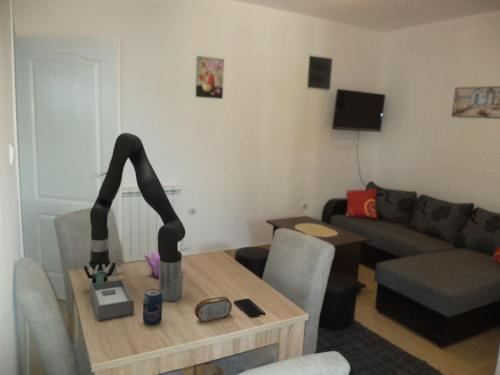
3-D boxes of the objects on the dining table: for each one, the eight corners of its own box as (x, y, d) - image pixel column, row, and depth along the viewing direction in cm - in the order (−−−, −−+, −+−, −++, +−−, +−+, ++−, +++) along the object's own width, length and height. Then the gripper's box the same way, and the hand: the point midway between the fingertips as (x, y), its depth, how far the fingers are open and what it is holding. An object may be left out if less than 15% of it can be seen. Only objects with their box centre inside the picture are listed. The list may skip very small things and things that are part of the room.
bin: (122, 292, 166) (122, 279, 165) (133, 314, 147) (133, 300, 147) (90, 297, 160) (90, 283, 159) (98, 321, 141) (98, 306, 140)
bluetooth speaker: (228, 313, 153) (230, 294, 152) (232, 317, 151) (233, 297, 149) (194, 320, 146) (194, 300, 145) (197, 324, 143) (197, 303, 142)
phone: (248, 298, 167) (266, 313, 154) (248, 300, 167) (266, 316, 154) (232, 301, 163) (249, 317, 150) (232, 303, 163) (249, 319, 150)
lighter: (108, 276, 182) (108, 260, 181) (107, 275, 184) (107, 259, 182) (123, 274, 186) (123, 258, 185) (122, 273, 187) (122, 257, 186)
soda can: (144, 327, 139) (144, 297, 137) (141, 318, 145) (142, 289, 143) (163, 325, 141) (164, 294, 140) (159, 316, 148) (160, 287, 146)
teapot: (178, 268, 197) (179, 245, 195) (184, 276, 188) (185, 252, 186) (139, 273, 188) (139, 249, 186) (143, 281, 179) (144, 256, 177)
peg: (105, 289, 168) (106, 272, 167) (100, 292, 165) (100, 274, 164) (99, 287, 170) (99, 270, 168) (93, 290, 166) (93, 273, 165)
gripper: (115, 244, 171) (114, 280, 174) (81, 247, 164) (81, 284, 167) (118, 249, 165) (118, 286, 167) (83, 252, 158) (83, 291, 160)
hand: (99, 285), depth 167 cm, fingers closed on peg, 3 cm apart
